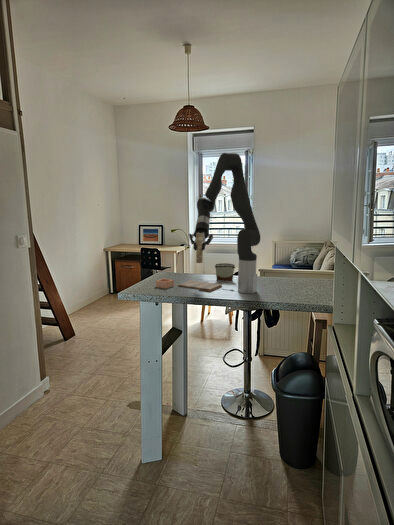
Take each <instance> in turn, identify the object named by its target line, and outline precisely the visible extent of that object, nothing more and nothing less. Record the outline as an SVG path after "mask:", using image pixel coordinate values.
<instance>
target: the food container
mask: <svg viewBox="0 0 394 525" xmlns="http://www.w3.org/2000/svg"><path fill="white" fill-rule="evenodd" d="M214 268H215V272H216V273H215V274H216V275H215V276H216V281H217V282H233V278H234V273H235V269H236V266H235V264H233V263H227V262H225V263H220V262H219V263H215V265H214Z"/></svg>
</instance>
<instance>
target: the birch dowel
mask: <svg viewBox="0 0 394 525" xmlns="http://www.w3.org/2000/svg"><path fill="white" fill-rule="evenodd" d="M202 244H203V233H196V250H195V255H196V256H195V263H197V264H203V263H204V262H203V258H204V257H203V255H204V254H203V253H204V251H202Z"/></svg>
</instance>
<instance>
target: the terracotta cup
mask: <svg viewBox="0 0 394 525" xmlns="http://www.w3.org/2000/svg"><path fill="white" fill-rule="evenodd" d="M174 286H175V280H174V279H168V278H161V279H157V280H155V288H160V289H169V288H172V287H174Z"/></svg>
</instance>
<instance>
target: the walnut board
mask: <svg viewBox="0 0 394 525" xmlns="http://www.w3.org/2000/svg"><path fill="white" fill-rule="evenodd" d="M177 287H179V288H180V287H181V288H186V289H193V290H199V291H201V292H208V293H212V292H213V291H216V290H218V289H220V288H222V287H223V286H222V283H215V282H208V281H199V280H193V279H192V280H191V279H190V280H187V281H184V282H182V283H178V284H177Z"/></svg>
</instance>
